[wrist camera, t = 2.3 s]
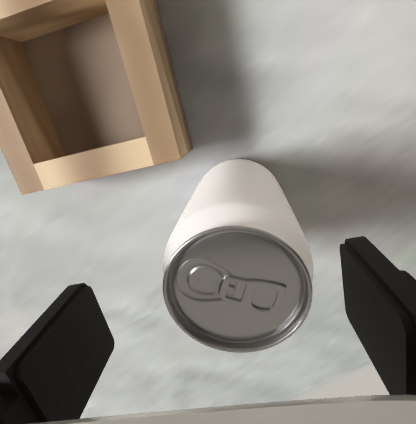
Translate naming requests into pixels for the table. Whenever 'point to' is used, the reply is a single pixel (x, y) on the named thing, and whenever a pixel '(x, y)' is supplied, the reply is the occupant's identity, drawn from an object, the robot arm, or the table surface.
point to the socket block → (86, 91)
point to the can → (238, 262)
